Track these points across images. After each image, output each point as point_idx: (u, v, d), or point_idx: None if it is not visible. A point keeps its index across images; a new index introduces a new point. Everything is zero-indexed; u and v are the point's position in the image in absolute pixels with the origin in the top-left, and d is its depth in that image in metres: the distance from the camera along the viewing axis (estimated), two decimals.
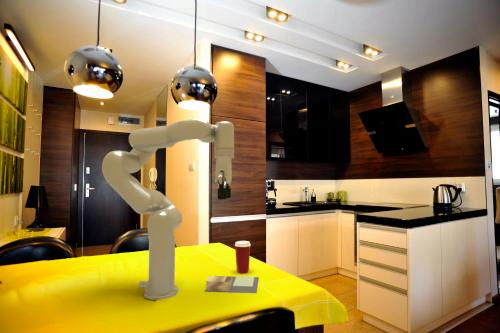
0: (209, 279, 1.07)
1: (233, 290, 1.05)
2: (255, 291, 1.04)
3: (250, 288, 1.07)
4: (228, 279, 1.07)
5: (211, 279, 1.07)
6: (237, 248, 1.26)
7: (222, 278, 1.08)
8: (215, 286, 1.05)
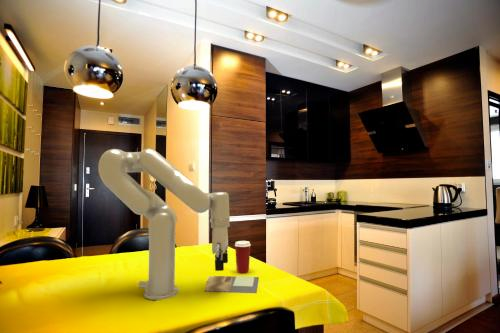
0: (209, 279, 1.07)
1: (233, 290, 1.05)
2: (255, 291, 1.04)
3: (250, 288, 1.07)
4: (228, 279, 1.07)
5: (211, 279, 1.07)
6: (237, 248, 1.26)
7: (222, 278, 1.08)
8: (215, 286, 1.05)
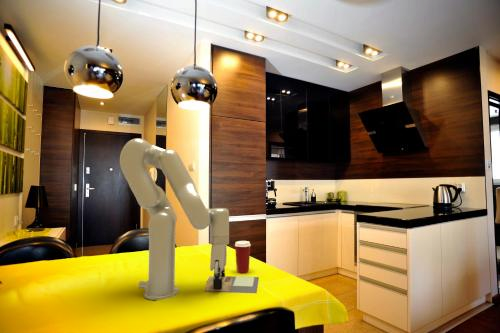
0: (209, 279, 1.07)
1: (233, 290, 1.05)
2: (255, 291, 1.04)
3: (250, 288, 1.07)
4: (228, 279, 1.07)
5: (211, 279, 1.07)
6: (237, 248, 1.26)
7: (222, 278, 1.08)
8: None
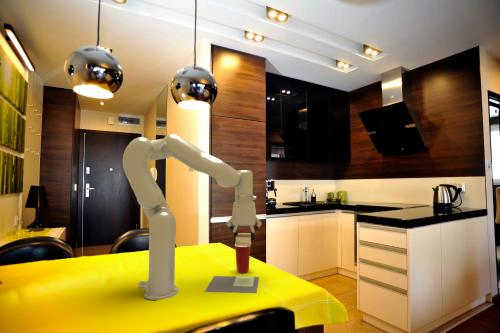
0: (243, 233, 1.20)
1: (233, 290, 1.05)
2: (255, 291, 1.04)
3: (250, 288, 1.07)
4: (241, 236, 1.12)
5: (242, 233, 1.19)
6: (237, 248, 1.26)
7: (245, 235, 1.15)
8: None
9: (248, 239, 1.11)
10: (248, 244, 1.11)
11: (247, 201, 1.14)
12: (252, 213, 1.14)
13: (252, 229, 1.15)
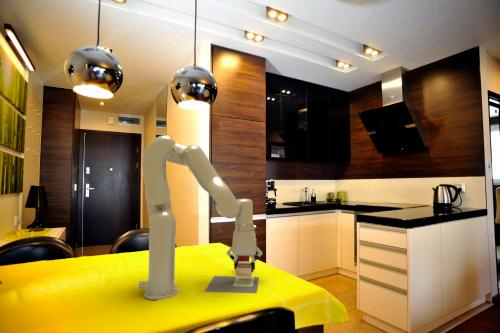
0: (243, 262, 1.19)
1: (233, 290, 1.05)
2: (255, 291, 1.04)
3: (250, 288, 1.07)
4: (242, 267, 1.12)
5: (243, 262, 1.18)
6: None
7: (245, 265, 1.14)
8: None
9: (249, 270, 1.11)
10: (249, 275, 1.11)
11: (247, 231, 1.13)
12: (252, 243, 1.14)
13: (252, 259, 1.14)
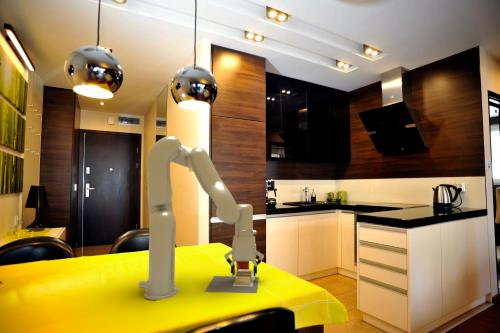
0: (242, 270, 1.19)
1: (233, 290, 1.05)
2: (255, 291, 1.04)
3: (250, 288, 1.07)
4: (241, 275, 1.11)
5: (242, 270, 1.18)
6: None
7: (245, 273, 1.14)
8: None
9: (248, 278, 1.10)
10: (248, 283, 1.10)
11: (247, 236, 1.13)
12: (252, 248, 1.13)
13: (255, 263, 1.14)
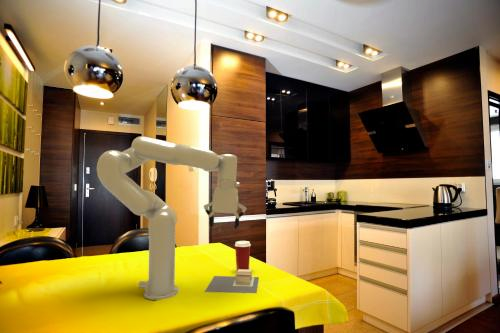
0: (242, 270, 1.19)
1: (233, 290, 1.05)
2: (255, 291, 1.04)
3: (250, 288, 1.07)
4: (241, 275, 1.11)
5: (242, 270, 1.18)
6: (237, 248, 1.26)
7: (245, 273, 1.14)
8: None
9: (248, 278, 1.10)
10: (248, 283, 1.10)
11: (229, 187, 1.07)
12: (234, 200, 1.08)
13: (237, 215, 1.08)
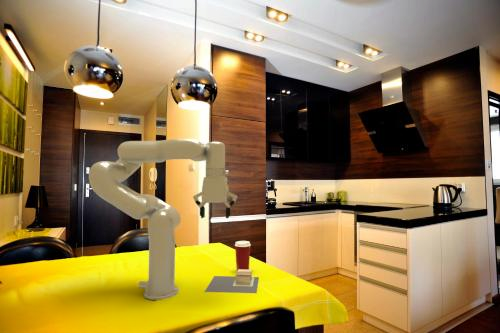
0: (242, 270, 1.19)
1: (233, 290, 1.05)
2: (255, 291, 1.04)
3: (250, 288, 1.07)
4: (241, 275, 1.11)
5: (242, 270, 1.18)
6: (237, 248, 1.26)
7: (245, 273, 1.14)
8: None
9: (248, 278, 1.10)
10: (248, 283, 1.10)
11: (218, 175, 1.03)
12: (223, 188, 1.04)
13: (227, 204, 1.04)
